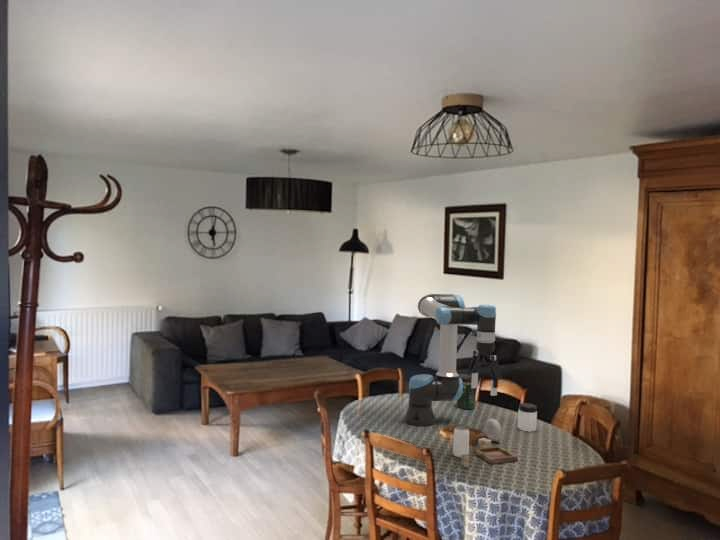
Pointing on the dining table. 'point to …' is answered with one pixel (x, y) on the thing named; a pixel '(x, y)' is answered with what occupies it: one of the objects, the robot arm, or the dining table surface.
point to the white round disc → (488, 429)
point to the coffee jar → (466, 393)
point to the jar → (527, 417)
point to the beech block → (484, 443)
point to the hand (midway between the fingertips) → (483, 391)
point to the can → (460, 441)
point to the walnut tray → (495, 455)
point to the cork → (465, 460)
